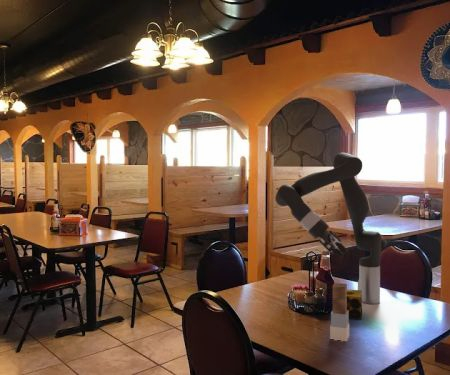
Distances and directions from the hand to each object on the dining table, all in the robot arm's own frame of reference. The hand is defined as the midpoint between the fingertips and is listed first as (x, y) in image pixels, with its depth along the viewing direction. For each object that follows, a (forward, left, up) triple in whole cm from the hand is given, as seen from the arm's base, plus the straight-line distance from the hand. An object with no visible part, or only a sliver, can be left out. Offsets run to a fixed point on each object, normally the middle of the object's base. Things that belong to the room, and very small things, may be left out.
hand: (344, 254), depth 169 cm
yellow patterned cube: (-11, +13, -30) cm, 35 cm away
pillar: (+6, -7, -20) cm, 22 cm away
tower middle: (+6, -7, -25) cm, 26 cm away
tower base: (+6, -7, -30) cm, 31 cm away
